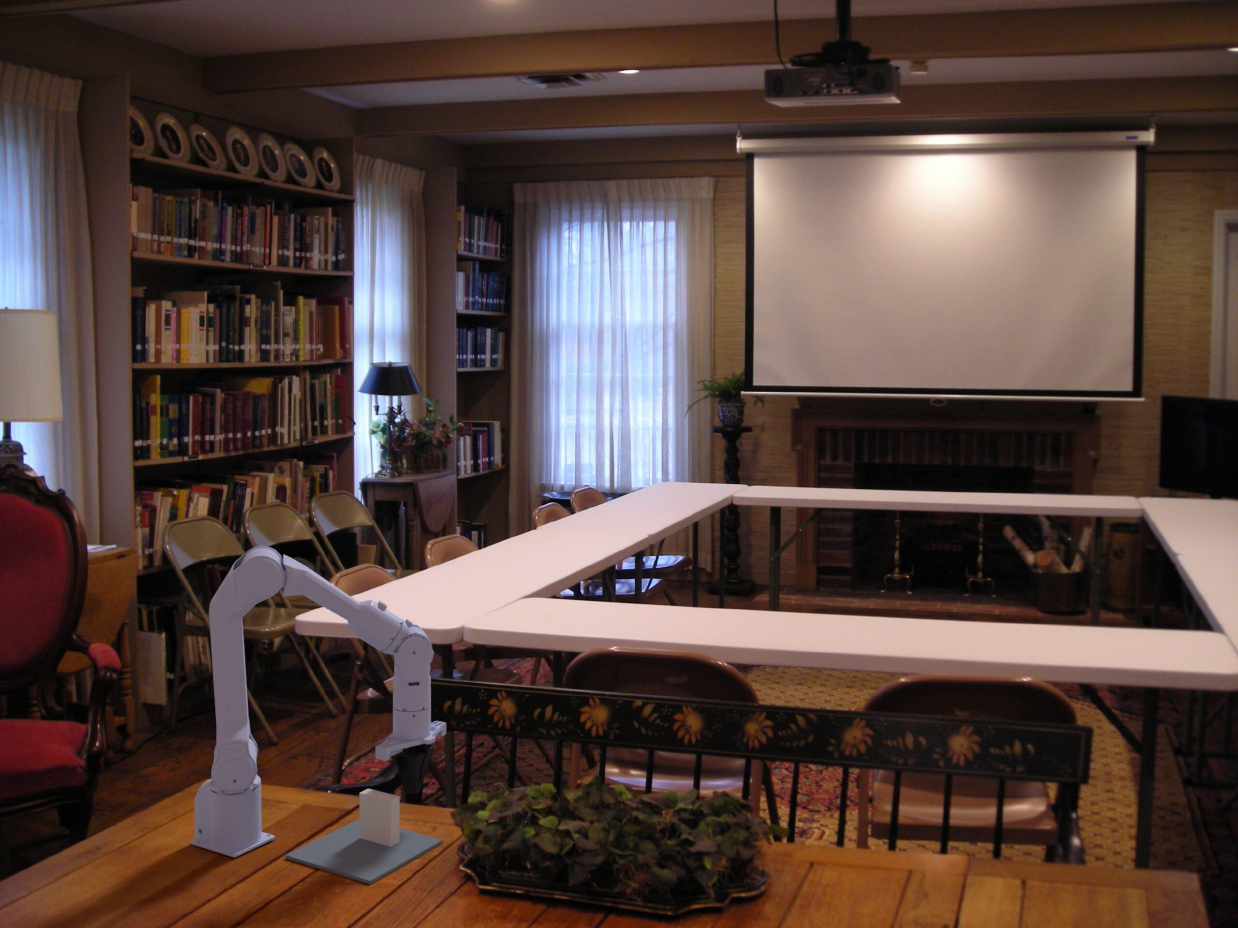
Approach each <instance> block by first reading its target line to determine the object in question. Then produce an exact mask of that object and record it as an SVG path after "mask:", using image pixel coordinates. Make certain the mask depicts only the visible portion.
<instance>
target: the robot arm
mask: <svg viewBox="0 0 1238 928" xmlns="http://www.w3.org/2000/svg"><path fill="white" fill-rule="evenodd" d="M280 590H281V591H282V593H281V595H282V597H291V596H303V597H306V598H307V599H309V600H311V601H313V602H314V603H316V604H318V605H319V606H322V607H323V608H325V609H326V610H329V611H330V612H332V613H333V614H336V615H337V616H339V617H340V618H343V619H344V620H346V621H347V625H348V630H349V632H350V634H351V635H354V636H355V637H356V638H359V639H360V640H362V641H363V642H365V643H367V644H368V645H369V646H371V647H373V648H375V649H377V650H378V651H379V652H381V653H383V654H384V655H392V656H393V659H394V661H393V662H394V664H393V666H394V667H393V670H394V675H393V677H392V733H391V734H390V735H389V736H388V737H387V738H386V739H385V740H383V742H381V743H380V744H377V745H375V760H380V761H382V762H383V761H384V762H387V761H389V760H390V759H392V761H393V762H394V765H395V766H396V769H397V771H398V774H399V777H400V781H401V784H402V788H403V791H404V793H405V794H409V795H412V796H413V795H417V794H418V793H420V792H421V789H422V786H423V785H422V784H423V781H424V778H425V777H424V776H425V772H426V770H427V767H428V764H429V762H430V760H431V758H432V757H433V754H434V753H435V751H436V750H435V745H434V744H433V743H435V742H436V741H437V740H436V737H438V736H440V737H444V736H445V735H447V722H444V721H439V720H435V721H433V722H432V716H431V715H432V709H431V708H432V704H431V703H432V698H431V697H432V686H431V683H432V680H431V679H432V677H431V675H430V671H431V663H432V661H433V659H434V654H435V651H434V649H433V646H432V645H433V644H432V643H431V641H430V639H429V637H428V635H427V634H426V632H425V631H424V630H423V629H422V628H420V626H419V625H418V624H414V622H413V621H411V620H410V619H408V618H407V619H405V620H404V619H402V618H401V617H399V616H398V615H396V614H395V613H393V612H391V611H390V610H389V609H387V608H388V605H387V604H386V603H385V602H383V601H382V600H378V602H377V601H374V600H372V599H368V600H364V601H362V600H361V601H358V600H356V599H355V598H353V597H352V596H350V595H349V594H348V593H346V592H345V591H343V590H342V589H340V588H339V587H337V586H336V585H334V584H333V583H331V582H330V581H329V580H327V579H326V578H324V577H322V576H321V575H320V574H318V573H317V572H315V571H314V570H313V569H311V568H309V567H308V566H307V565H305V564H303V563H301V562H300V561H298V560H296V559H294V558H292V557H290V556H288V555H286V554H283V555H281V554H280V552H278V551H277V550H276V549H275V548H272V547H270V546H266V545H260V546H259V545H258V546H255V547H252V548H251V549H248V550H246V552H245V553H244V554H242V555H241V556H240V557H238V559H236V560H235V561H234V563H233V564H232V566H231V568H230V569H229V571H228V573H227V574H226V576H225V578H224V579H223V580H222V583H221V584H220V585H219V587H218V589H217V590H216V592H215V594H214V596H213V597H212V598H211V601H210V603H209V609H208V613H209V614H208V616H209V629H210V630H209V633H210V646H211V660H212V676H213V692H214V694H213V695H214V707H215V708H214V709H215V723H216V738H215V739H216V741H215V743H216V745H215V746H214V751H213V764H212V766H211V771H210V774H211V778H210V779H208V780H206V781H204V783H202V784H201V785H200V787H199V788H198V790H197V791H196V794H195V797H194V804H193V806H194V809H193V810H194V838H193V839H191V840H190V842H189V843H190V844H191V846H192V845H193V846H196V847H199V848H203V849H206V850H208V851H211V852H215V853H218V854H220V855H221V854H222V855H225V856H228V857H231V858H237V857H239V856H241V855H243V854H244V855H245V853H248V852H250V851H252V850H254V849H257V848H258V847H260V846H262V845H265V844H266V843H269V842H271V841H273V840H275V837H276V836H275V835H273V834H271V833H267V832H263V831H262V824H263V823H262V779H261V777H260V776H259V775H258V766H257V758H258V754H259V748H258V744H257V742H256V740H255V739H254V737H253V735H252V733H251V726H250V718H249V703H248V690H247V689H248V687H247V686H248V685H247V673H246V672H247V671H246V655H245V642H244V640H245V639H244V623H243V622H244V621H243V618H244V616H246V615H247V613H249V612H250V611H251V610H252V609H253V608H254V607H255V606H256V605H257V604H259V603H261V602H263V601H265V600H268V599H269V598H271V597H274V596H275V595H276V594H277V593H279V591H280Z"/></svg>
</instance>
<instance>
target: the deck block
mask: <svg viewBox="0 0 1238 928" xmlns="http://www.w3.org/2000/svg"><path fill="white" fill-rule="evenodd" d="M358 797H359V819H360V838H361V839H364V840H368V841H371V842H375V843H379V844H382V845H386V846H389V847H392V846H393V845H395V844H397V843H399V842H400V828H401V827H400V826H401V824H400V823H401V822H400V821H401V820H400V819H401V818H400V816H401V815H400V814H401V813H400V812H401V811H400V808H401V807H400V803H401V800H400V796H399V795H396V794H392V793H387V792H383V791H379V790H377V789H376V790H375V789H371V788H366V789H365V790H363V791H361V792H359V795H358Z"/></svg>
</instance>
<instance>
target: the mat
mask: <svg viewBox="0 0 1238 928" xmlns="http://www.w3.org/2000/svg"><path fill="white" fill-rule="evenodd" d="M442 844H444V839H442V838H438V837H433V836H430V835H426V834H423V833H418V832H415V831H411V830H409V829H404V828H401V827H400V842H399V843H397V844H395V845H393V846H392V847H389V846H386V845H382V844H379V843H375V842H371V841H368V840H364V839H361V838H360V818H358V819H356V820H353V821H352V822H350V823H347V824H345V825H344V826H341V827H340V828H338V829H336V830H334V831H331V832H329V833H328V834H325V835H323V836H321V837H320V838H318V839H315V840H313V841H311V842H309V843H306V844H305V845H303V846H301V847H299V848H297V849H295V850H293V851H291V852H289V853H287V854H285V859H287V860H289V861H293V862H295V863H298V864H299V863H300V864H302V865H306V866H309V867H311V868H316V869H319V870H322V871H324V872H328V873H332V874H336V875H339V876H342V877H345V878H349V879H351V880H355V881H358V882H361V883H365V884H368V885H372V884H374V883H375V882H377V881H379V880H381V879H382V878H384V877H386V876H388V875H389V874H391V873H393V872H395V871H396V870H398V869H400V868H402V867H403V866H405V865H408V863H410V862H412V861H414V860H416V859H417V858H419V857H422V856H424V855H425V854H427V853H428V852H430V851H432V850H434V849H435V848H437V847H439V846H440V845H442Z"/></svg>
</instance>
